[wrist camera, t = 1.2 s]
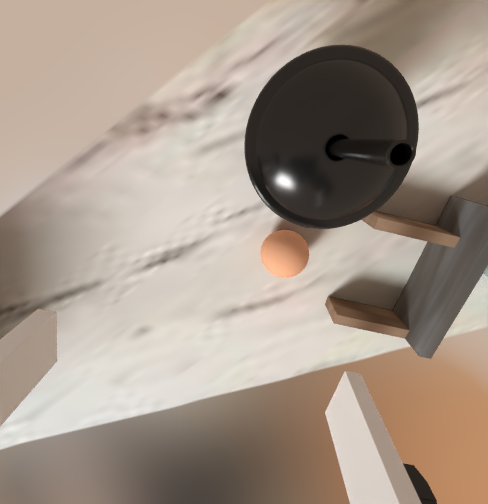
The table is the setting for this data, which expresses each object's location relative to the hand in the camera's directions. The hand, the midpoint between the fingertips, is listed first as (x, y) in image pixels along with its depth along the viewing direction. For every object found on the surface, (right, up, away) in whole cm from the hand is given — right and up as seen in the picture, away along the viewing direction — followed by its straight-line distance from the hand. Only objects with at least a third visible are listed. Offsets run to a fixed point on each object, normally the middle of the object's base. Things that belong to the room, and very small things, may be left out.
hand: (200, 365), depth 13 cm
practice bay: (+17, +5, +16) cm, 24 cm away
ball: (+6, +5, +14) cm, 16 cm away
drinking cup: (+6, +15, +13) cm, 20 cm away
